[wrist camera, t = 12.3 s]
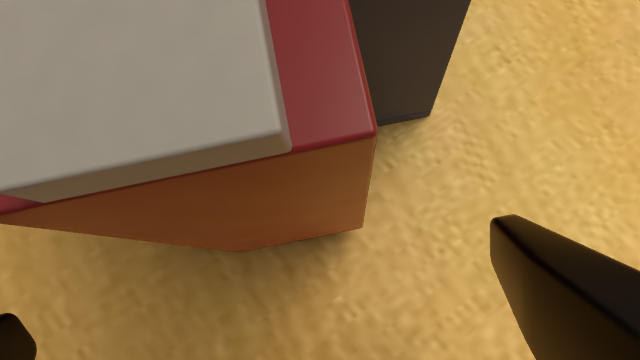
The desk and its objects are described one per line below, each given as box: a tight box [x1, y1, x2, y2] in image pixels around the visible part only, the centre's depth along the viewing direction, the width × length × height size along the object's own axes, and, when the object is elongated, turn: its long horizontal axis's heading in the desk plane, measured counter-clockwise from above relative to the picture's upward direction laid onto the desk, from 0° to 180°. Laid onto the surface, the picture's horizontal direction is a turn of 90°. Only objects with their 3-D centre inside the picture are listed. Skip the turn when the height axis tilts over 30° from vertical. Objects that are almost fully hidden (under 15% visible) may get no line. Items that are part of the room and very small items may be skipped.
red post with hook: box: [0, 0, 378, 252], centre depth 12 cm, size 8×5×13 cm, turn 11°
